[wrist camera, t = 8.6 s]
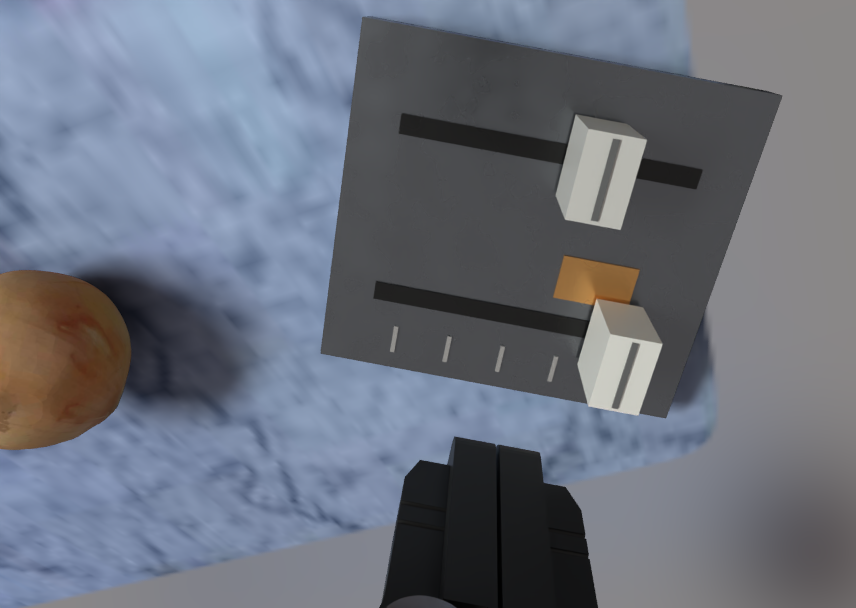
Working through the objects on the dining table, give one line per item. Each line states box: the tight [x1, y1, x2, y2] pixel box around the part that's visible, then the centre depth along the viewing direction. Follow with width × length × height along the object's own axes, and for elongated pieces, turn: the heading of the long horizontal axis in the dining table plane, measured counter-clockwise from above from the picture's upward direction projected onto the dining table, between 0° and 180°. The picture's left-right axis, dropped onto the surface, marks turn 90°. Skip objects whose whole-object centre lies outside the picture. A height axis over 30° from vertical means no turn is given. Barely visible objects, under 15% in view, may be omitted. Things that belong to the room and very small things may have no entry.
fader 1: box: [556, 114, 647, 230], centre depth 32 cm, size 4×2×4 cm, turn 170°
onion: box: [0, 270, 131, 450], centre depth 38 cm, size 10×10×10 cm
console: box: [321, 16, 782, 418], centre depth 37 cm, size 18×20×2 cm
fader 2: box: [577, 299, 663, 416], centre depth 36 cm, size 4×2×4 cm, turn 170°
